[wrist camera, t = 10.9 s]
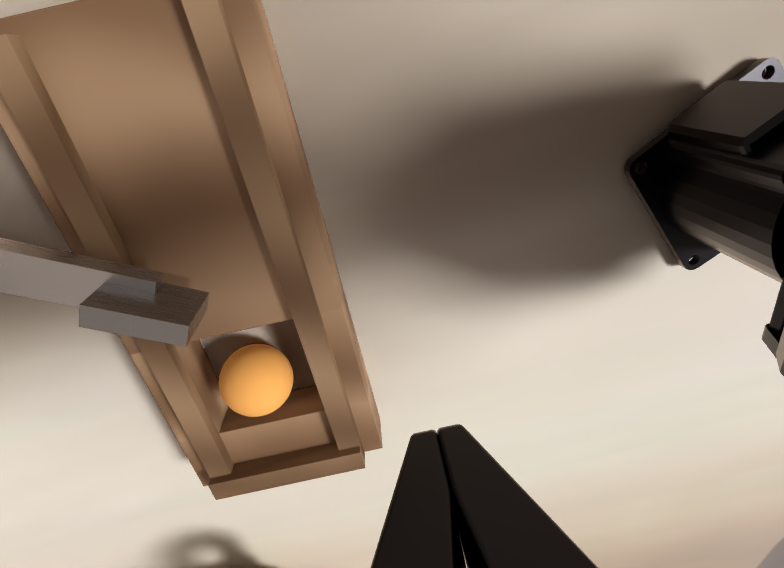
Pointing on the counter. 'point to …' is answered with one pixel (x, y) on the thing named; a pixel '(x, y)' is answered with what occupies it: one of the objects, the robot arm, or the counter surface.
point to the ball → (256, 380)
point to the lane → (194, 212)
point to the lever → (103, 292)
